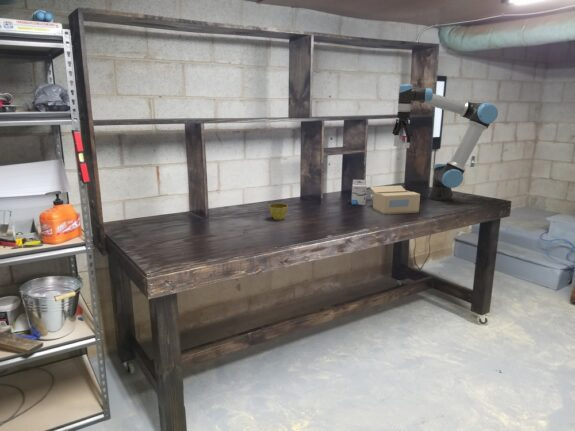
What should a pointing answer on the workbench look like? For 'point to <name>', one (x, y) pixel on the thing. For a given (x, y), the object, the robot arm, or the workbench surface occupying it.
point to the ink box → (359, 192)
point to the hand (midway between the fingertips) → (401, 146)
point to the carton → (396, 202)
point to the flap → (386, 189)
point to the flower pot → (278, 211)
